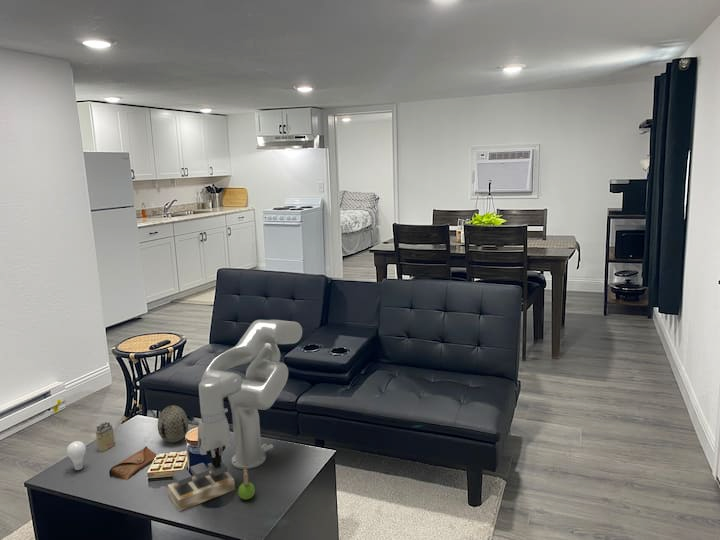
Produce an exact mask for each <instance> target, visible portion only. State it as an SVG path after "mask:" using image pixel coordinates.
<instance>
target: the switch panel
mask: <svg viewBox="0 0 720 540" xmlns="http://www.w3.org/2000/svg"><path fill="white" fill-rule="evenodd" d="M191 476H192V481H191V482H189V483H186V484H185V485H180V486H179V485H178V484H177V483H176V481H175V482H172V483H169V484H167V492H168V497H169V498H170V500H171V502H173V504H174V505H175V507H176V508H177V509H178V511H179V512H181V511H184V510H186V509H189V508H191V507H192V508H193V507H194V506H197V505H199V504H202V503H205V502H208V501H209V500H212V499H215V498H217V497H220V496H223V495H225V494H227V493H230V492H233V491H235V490H236V484H235V479H234V477H233V476H232V475H231V474H230V473H229V472H228V471H227V472H225V473H222V474H220V475H218V476H214V475H213V474H212V472H211V471H210V475H208V476H205V477H203V478H201V479H196V477H195V476H194V475H191Z"/></svg>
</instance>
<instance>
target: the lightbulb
mask: <svg viewBox="0 0 720 540" xmlns="http://www.w3.org/2000/svg"><path fill="white" fill-rule="evenodd" d="M86 451H87V447H86V444H85V442H83V441H81V440H80V441H79V440H75V441H72V442H71V443H69V444H68V446H67V448H66V455H67V456H68V458H69V459H71V462H72V463H73V465H74V470H75V471H80V470H82V469H83V467H84V465H83V460H84V456H85V454H86Z"/></svg>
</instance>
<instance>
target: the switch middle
mask: <svg viewBox="0 0 720 540" xmlns="http://www.w3.org/2000/svg"><path fill="white" fill-rule="evenodd" d="M190 474H192V476H195V477H196V479H201V478H203V477H205V476H208V475H210V470H209V469H208V466H207V465H206V464H205V463H204V462H201V463H198V464H195V465H192V466H190Z"/></svg>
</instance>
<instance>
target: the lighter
mask: <svg viewBox="0 0 720 540" xmlns="http://www.w3.org/2000/svg"><path fill="white" fill-rule="evenodd" d="M95 432H96V434H95V435H96V444H97V452H105V451H107V450H109V449H112V447H114V446H115V445H116V443H115V434H114V427H113V425H112V424H111V423H110V421H109V422H101V423H100V424H99V425H97V426H96V431H95Z"/></svg>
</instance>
